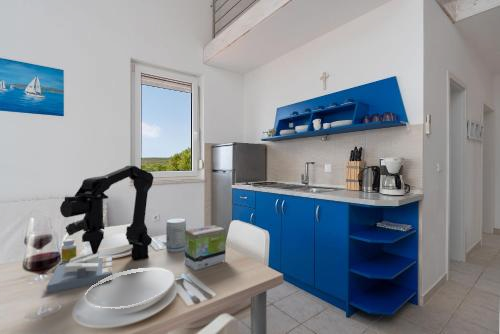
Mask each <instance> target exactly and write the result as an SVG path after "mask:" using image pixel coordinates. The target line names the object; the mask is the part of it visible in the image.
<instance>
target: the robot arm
mask: <svg viewBox="0 0 500 334" xmlns="http://www.w3.org/2000/svg"><path fill="white" fill-rule="evenodd" d="M127 178H129V179H131V180H132V182H133V187H134V189H135V200H134V208H133V216H132V222H131V224H130V225H129V226H126V233H125V236H126V237H125V238H126V240H127V242H128V245H129V246H132V247H131V249H130V250H131V252H130V254H131V255H130V257H131V259H132V260H133V262H134V261H135V262H136V261H141V260H145V259H146V260H147V259H149V258H150V256H149V246H150V245H151V244H152V242H153V238H152V237H151V236H149V235H148V228H147V224H146V223H145V221H146V220H145V219H146V213H147V212H146V210H147V201H148V194H149V193H148V192H149V191H150V189H151V188H152V187H153V183H154V175H153V174H152V173H151V172H149V171H147V170H144V169H141V168H139V167H138V166H136V165H126V166H124V167H122V168H119V169H117V170H115V171H112V172H110V173H108V174H104V175H101V176H94V177H93V176H92V177H88V178H85V179H84V180H83V181H82V183H81V186H80V187H79V188H78V190H77V192H76V193H75V194H74V196H65V197H64V200H63V201H62V202H61V204H60V206H59V211H60V214H61V215H62V216H63V217H64V218H70V217H71V218H72V217H75V216H82V215H84V216H83V219H80V220H77V221H75V222H74V221H73V222H72V223H69V224H67V225H66V226H65V230H66V231H65V232H66V233H67V234H68V236H70V237H71V236H73V235H74V234H76V233H79V232H80V231H83V234H82V235H81V239H82V240H81V242H82V243H85V242H89V246H90V249H91V251H92V253H93V254H96V253H97V251H98V248H99V249H100V246H101V243H102V241H103V240H104V238H105V237H104V236H105V232H104V231H103V230H105V227H106V226H105V222H104V200H106V199H109V196H108V195H106V194H105V192H107V190H109V189H110V187H111V186H112V185H114V184H117V183H119V182H121V181H123V180H125V179H127Z"/></svg>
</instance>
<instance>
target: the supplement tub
mask: <svg viewBox="0 0 500 334" xmlns="http://www.w3.org/2000/svg"><path fill="white" fill-rule="evenodd" d="M186 222H187V221H186V219H185V218H180V217H177V218H170V219H168V220H166V233H165V235H166V239H165V240H166V241H165V242H166V244H165V245H166V246H165V247H166V251H168V252H171V253H178V252H181V251H185V230H187V223H186Z"/></svg>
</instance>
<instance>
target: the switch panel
mask: <svg viewBox="0 0 500 334" xmlns="http://www.w3.org/2000/svg"><path fill="white" fill-rule="evenodd" d="M85 258H86V257H85ZM81 259H82V258H81ZM84 263H87V262H84ZM92 263H99V265H98V271H86V268H81V269H78V270H77V271H73V272H64V271H65V267H66V264H59V265H57V266H56V268H55V270H54V272H53V274H52V275H51V278H50V279H49V281H48V283H47V286H46V293H47V294H51V293H55V292H62V291H64V290H65V291H66V290H70V289H75V288H81V287H84V286H89V285H94V284H97V283H96V282H98V281H100V280H102V279H104V278H106V277H108V276H110V275H112V276H113V256H105V257H101V258H100V257H99V260H98V261H95V262H92Z"/></svg>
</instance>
